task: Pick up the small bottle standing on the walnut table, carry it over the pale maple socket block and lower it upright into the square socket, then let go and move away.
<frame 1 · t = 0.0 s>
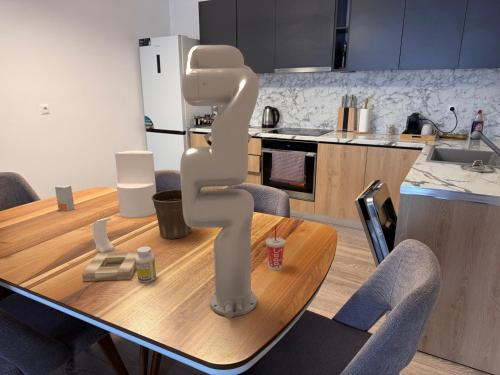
hand: (228, 158, 129), 31 cm above the table, tool pointing down, fingers open, 9 cm apart
supplement bottle: (147, 279, 107), on the table
beverage cup: (275, 267, 114), on the table
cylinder: (139, 211, 167), on the table
plant pot: (175, 234, 141), on the table
skincare box: (66, 210, 171), on the table
socket block: (113, 268, 113), on the table
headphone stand: (104, 249, 128), on the table
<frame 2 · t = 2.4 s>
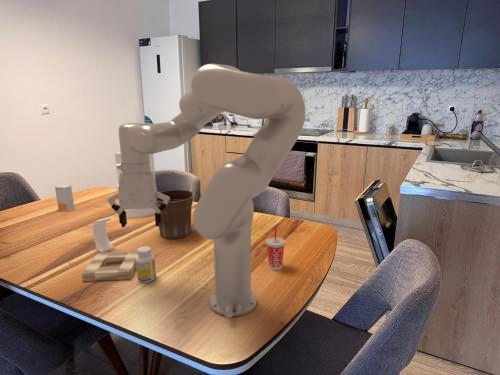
hand: (141, 225, 103), 17 cm above the table, tool pointing down, fingers open, 9 cm apart
nothing on the table moved.
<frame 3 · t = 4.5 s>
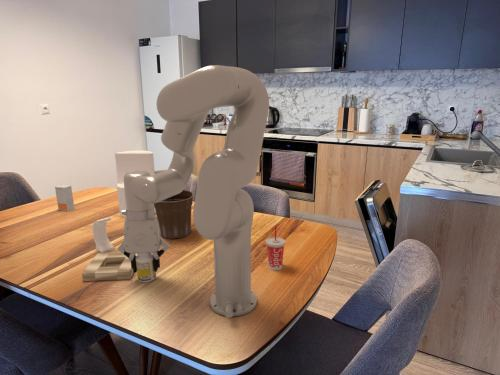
hand: (146, 269, 106), 3 cm above the table, tool pointing down, fingers closed on supplement bottle, 5 cm apart
supplement bottle: (147, 279, 107), on the table, touching gripper
everything else where it was.
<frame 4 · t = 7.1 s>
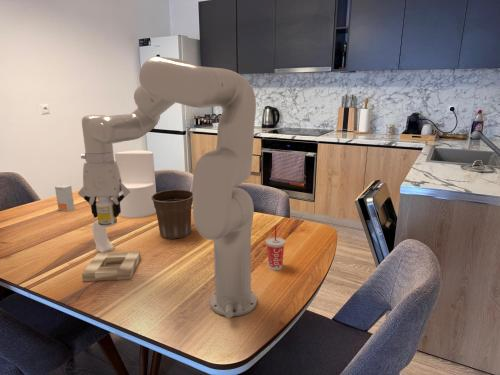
hand: (106, 215, 108), 18 cm above the table, tool pointing down, fingers closed on supplement bottle, 5 cm apart
supplement bottle: (107, 224, 109), point 15 cm above the table, touching gripper
everything else where it was.
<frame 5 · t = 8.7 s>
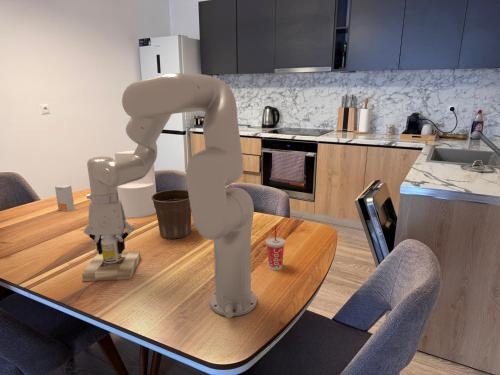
hand: (111, 251, 111), 6 cm above the table, tool pointing down, fingers closed on supplement bottle, 5 cm apart
supplement bottle: (112, 260, 112), point 3 cm above the table, touching gripper
everything else where it was.
when the fingers open (4 cm above the table, at t = 10.0 s): supplement bottle stays where it is, resting on socket block.
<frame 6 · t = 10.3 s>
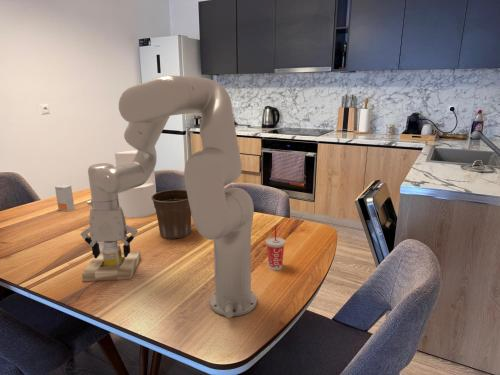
hand: (112, 255, 112), 5 cm above the table, tool pointing down, fingers open, 8 cm apart
supplement bottle: (114, 269, 113), resting on socket block
everything else where it was.
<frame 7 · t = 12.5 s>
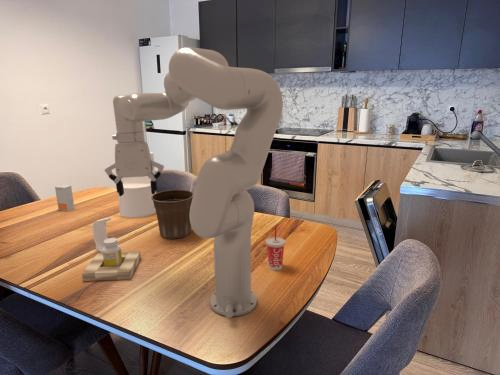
hand: (137, 194, 108), 25 cm above the table, tool pointing down, fingers open, 9 cm apart
nothing on the table moved.
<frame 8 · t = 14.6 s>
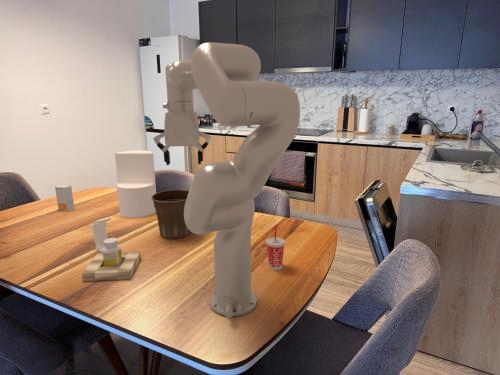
hand: (184, 163, 109), 33 cm above the table, tool pointing down, fingers open, 9 cm apart
nothing on the table moved.
at the end: supplement bottle 0.1 cm off-centre on the socket block, point 0.0 cm above the socket block's base; supplement bottle tilted 0°; the gripper is holding nothing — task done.
